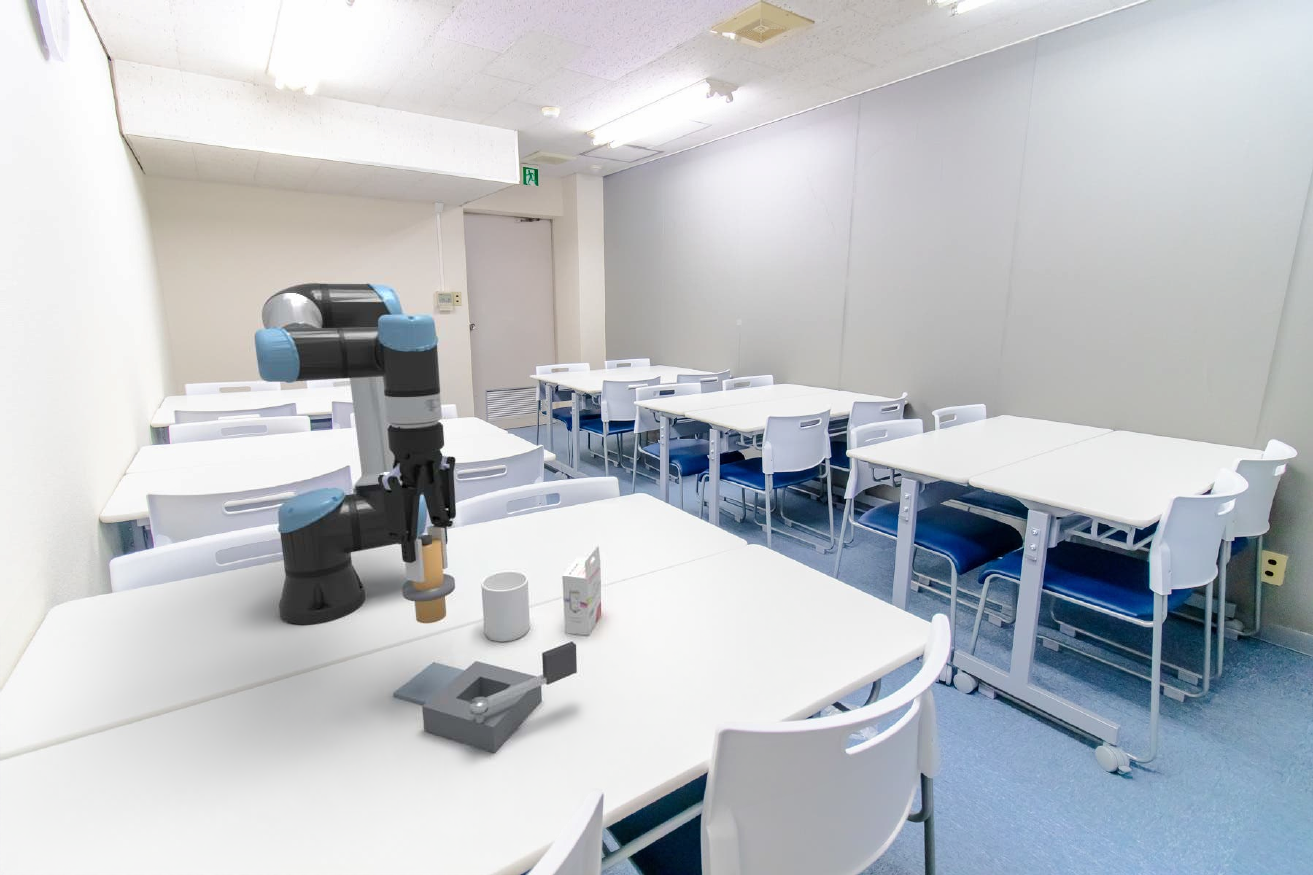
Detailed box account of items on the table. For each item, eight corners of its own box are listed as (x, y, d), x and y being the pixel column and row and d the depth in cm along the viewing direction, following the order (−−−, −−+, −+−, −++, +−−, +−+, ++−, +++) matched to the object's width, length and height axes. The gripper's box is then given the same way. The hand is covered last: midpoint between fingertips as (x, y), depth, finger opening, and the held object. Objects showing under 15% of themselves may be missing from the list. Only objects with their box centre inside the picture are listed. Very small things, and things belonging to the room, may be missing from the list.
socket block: (424, 730, 86) (421, 698, 85) (477, 683, 97) (475, 654, 96) (494, 752, 82) (492, 719, 81) (541, 700, 93) (540, 670, 92)
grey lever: (467, 709, 83) (465, 679, 82) (570, 666, 92) (569, 639, 91) (474, 718, 81) (472, 688, 80) (578, 674, 91) (578, 646, 90)
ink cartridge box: (578, 611, 120) (576, 541, 117) (602, 614, 119) (600, 544, 116) (563, 633, 112) (560, 559, 109) (588, 636, 111) (587, 562, 108)
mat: (393, 696, 94) (393, 692, 94) (433, 665, 102) (433, 661, 102) (440, 709, 91) (440, 706, 91) (478, 676, 99) (477, 673, 99)
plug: (393, 623, 92) (385, 542, 89) (428, 601, 99) (422, 525, 96) (434, 632, 89) (427, 549, 86) (467, 609, 96) (461, 531, 93)
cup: (483, 645, 108) (480, 592, 106) (486, 612, 120) (483, 565, 118) (530, 639, 110) (528, 588, 108) (529, 608, 122) (527, 561, 119)
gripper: (389, 436, 78) (404, 602, 83) (474, 415, 94) (483, 555, 99) (345, 432, 81) (363, 593, 86) (436, 412, 97) (446, 549, 102)
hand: (427, 573), depth 92 cm, fingers closed on plug, 4 cm apart
